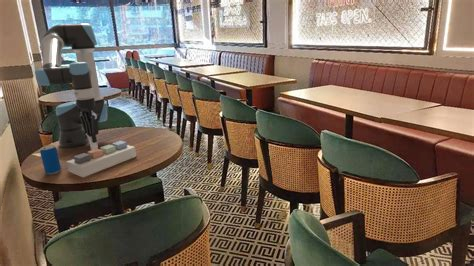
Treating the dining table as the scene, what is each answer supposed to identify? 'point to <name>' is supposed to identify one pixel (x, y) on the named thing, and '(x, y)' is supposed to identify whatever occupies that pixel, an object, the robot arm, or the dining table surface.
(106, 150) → the sage key
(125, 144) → the slate key
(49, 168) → the beverage can
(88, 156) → the charcoal key
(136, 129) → the dining table surface
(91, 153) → the terracotta key
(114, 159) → the keypad
